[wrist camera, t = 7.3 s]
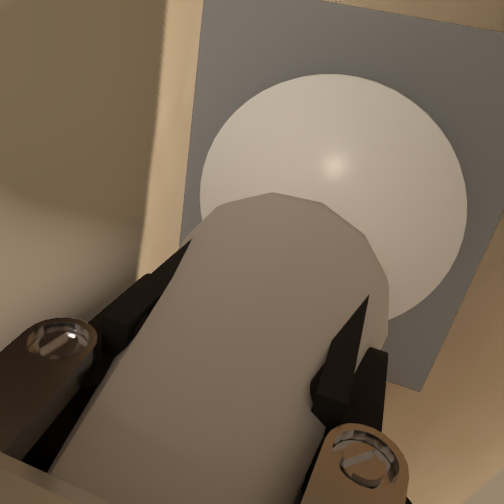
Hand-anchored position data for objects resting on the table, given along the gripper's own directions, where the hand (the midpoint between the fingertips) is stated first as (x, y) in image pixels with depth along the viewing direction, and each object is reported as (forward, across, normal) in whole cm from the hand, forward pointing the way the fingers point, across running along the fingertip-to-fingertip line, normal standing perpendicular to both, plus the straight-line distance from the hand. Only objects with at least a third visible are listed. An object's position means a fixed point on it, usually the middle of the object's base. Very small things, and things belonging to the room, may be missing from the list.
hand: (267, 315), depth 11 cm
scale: (+11, 0, 0) cm, 11 cm away
